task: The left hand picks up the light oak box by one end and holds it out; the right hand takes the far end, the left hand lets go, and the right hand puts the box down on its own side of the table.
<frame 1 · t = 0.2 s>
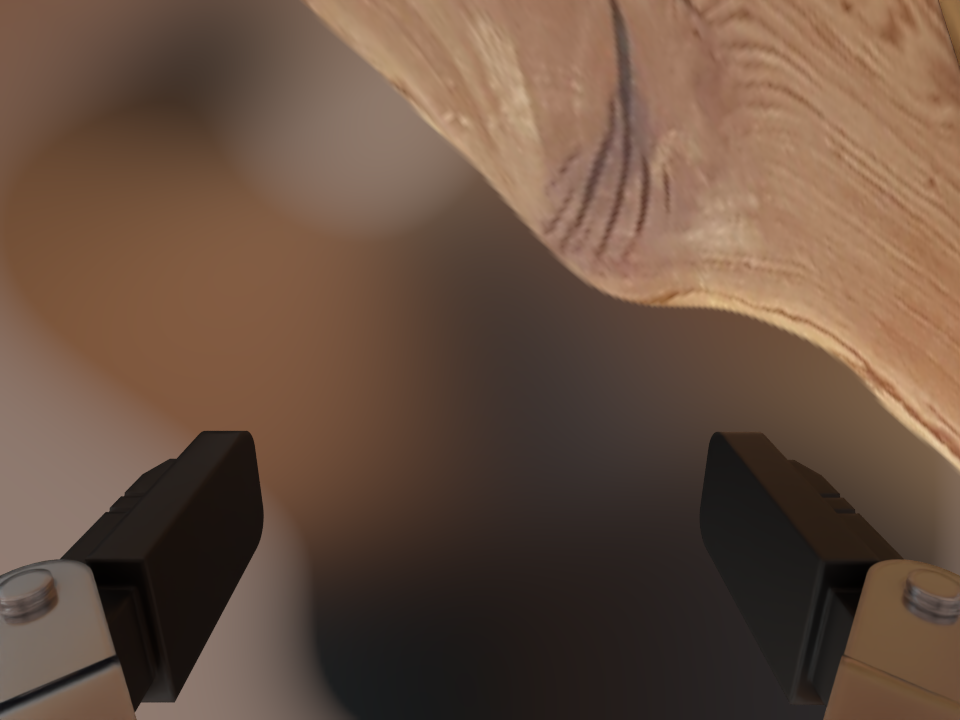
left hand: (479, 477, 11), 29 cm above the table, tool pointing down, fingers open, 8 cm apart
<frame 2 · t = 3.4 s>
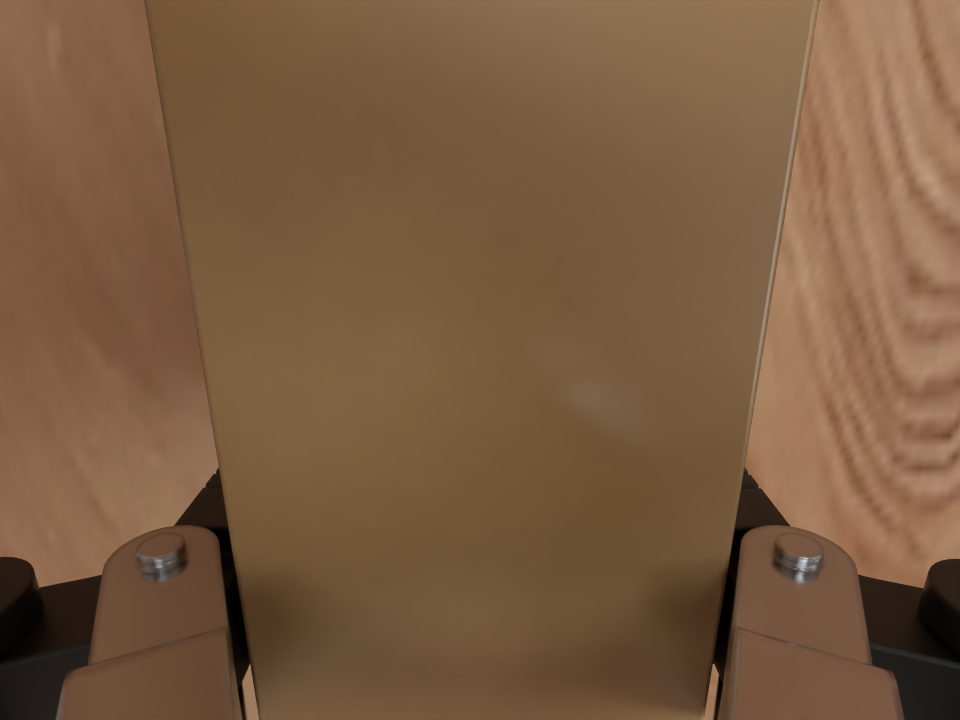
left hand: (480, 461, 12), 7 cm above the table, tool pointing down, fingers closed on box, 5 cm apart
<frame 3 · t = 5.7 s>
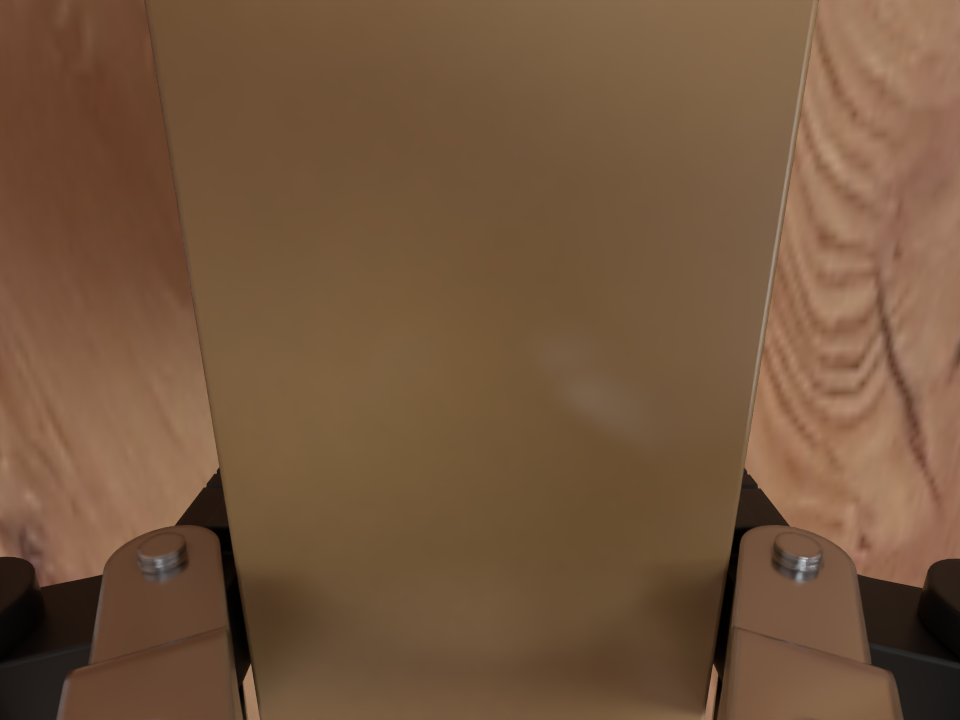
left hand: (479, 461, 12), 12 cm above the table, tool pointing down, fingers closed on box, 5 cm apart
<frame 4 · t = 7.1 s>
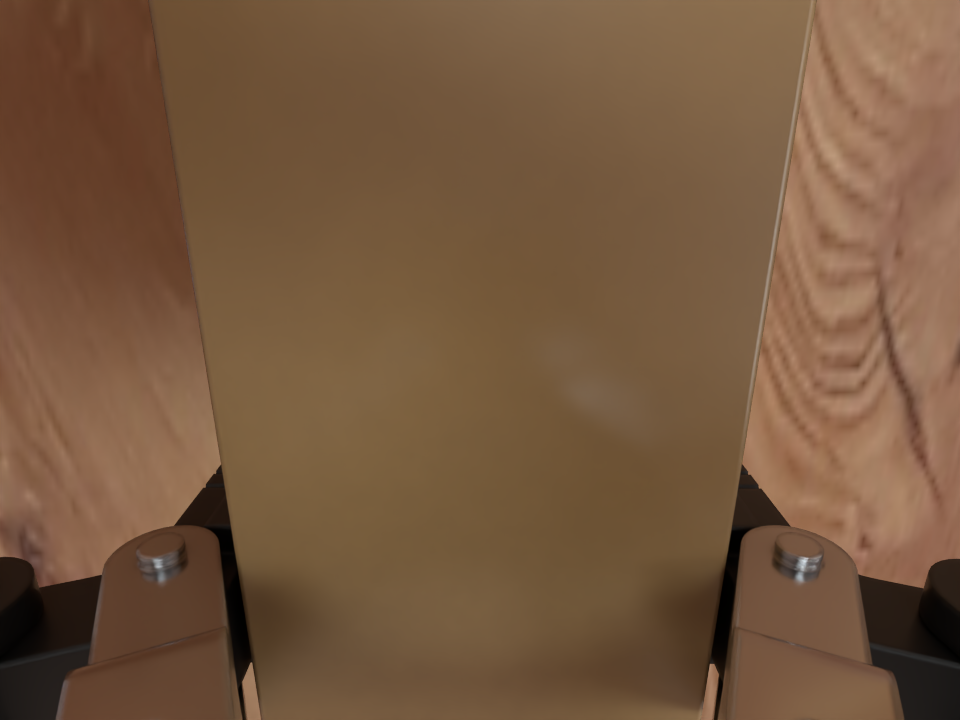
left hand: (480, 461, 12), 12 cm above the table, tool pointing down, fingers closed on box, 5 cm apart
when the left hand's fingers open (12 cm above the table, at t = 8.2 s): box moves 2 cm, held by the right hand.
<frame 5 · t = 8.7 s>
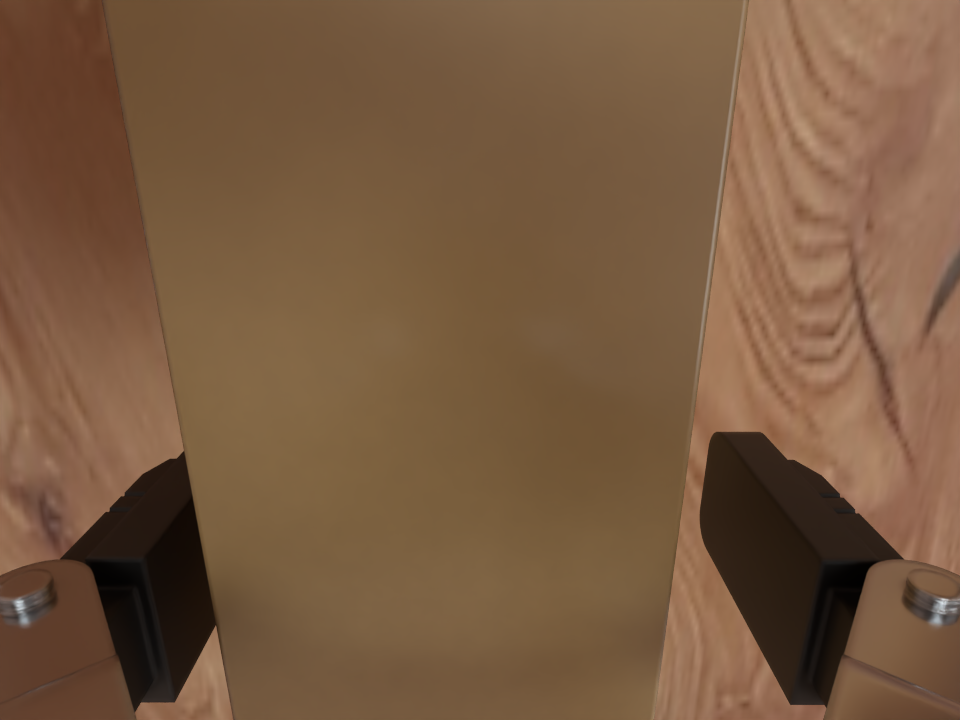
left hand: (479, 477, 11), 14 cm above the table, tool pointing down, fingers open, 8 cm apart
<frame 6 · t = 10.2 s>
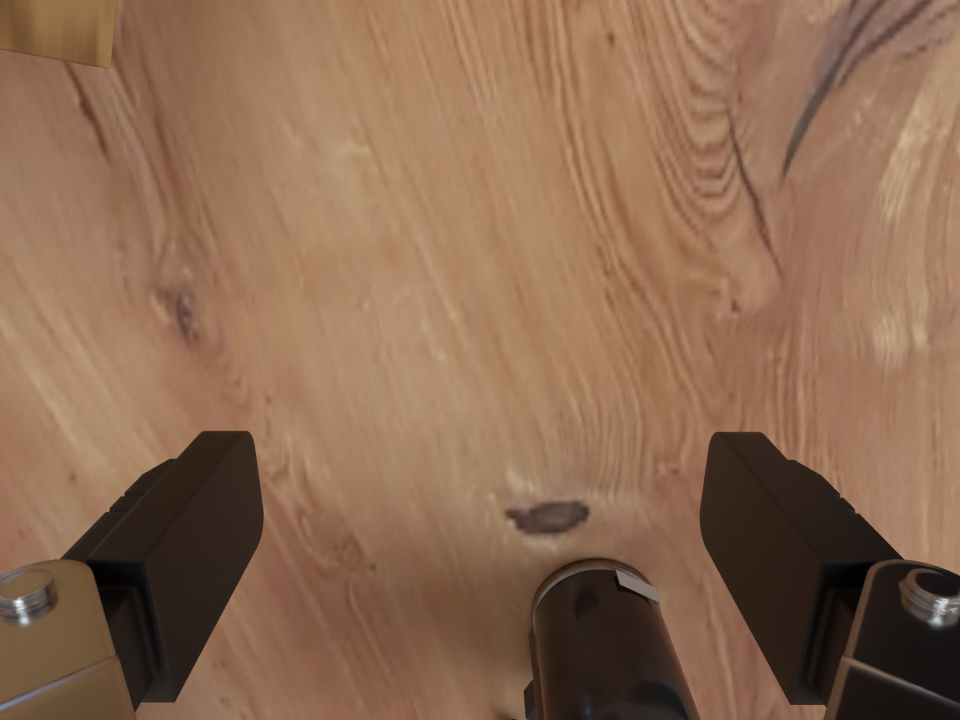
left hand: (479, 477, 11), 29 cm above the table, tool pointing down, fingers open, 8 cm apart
when the right hand's fingers open (7 cm above the table, at t = 13.8 s): box stays where it is, on the table.
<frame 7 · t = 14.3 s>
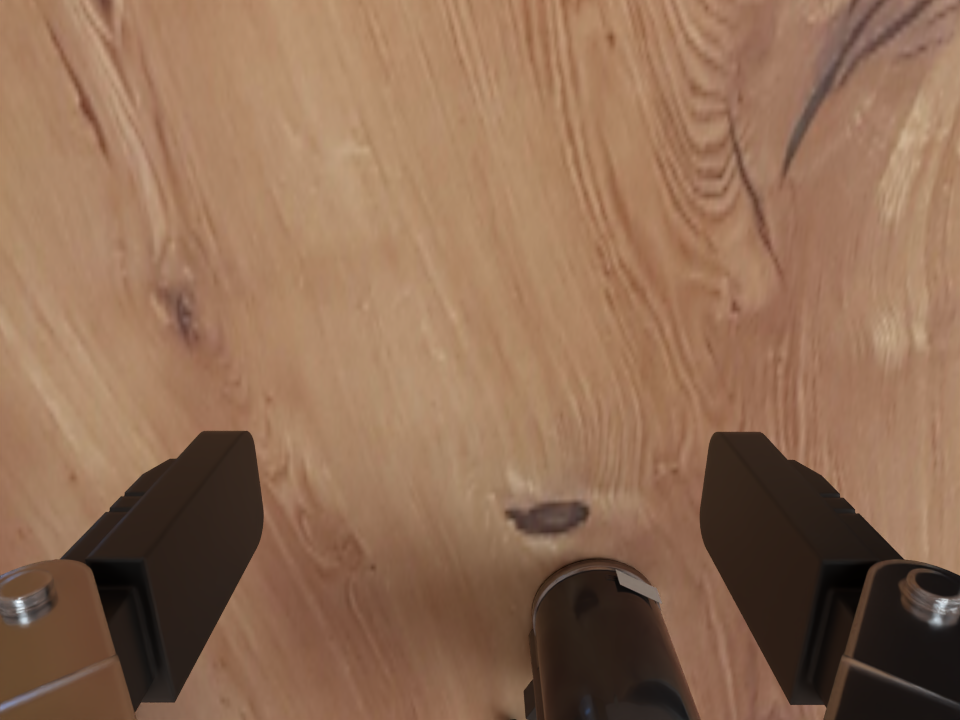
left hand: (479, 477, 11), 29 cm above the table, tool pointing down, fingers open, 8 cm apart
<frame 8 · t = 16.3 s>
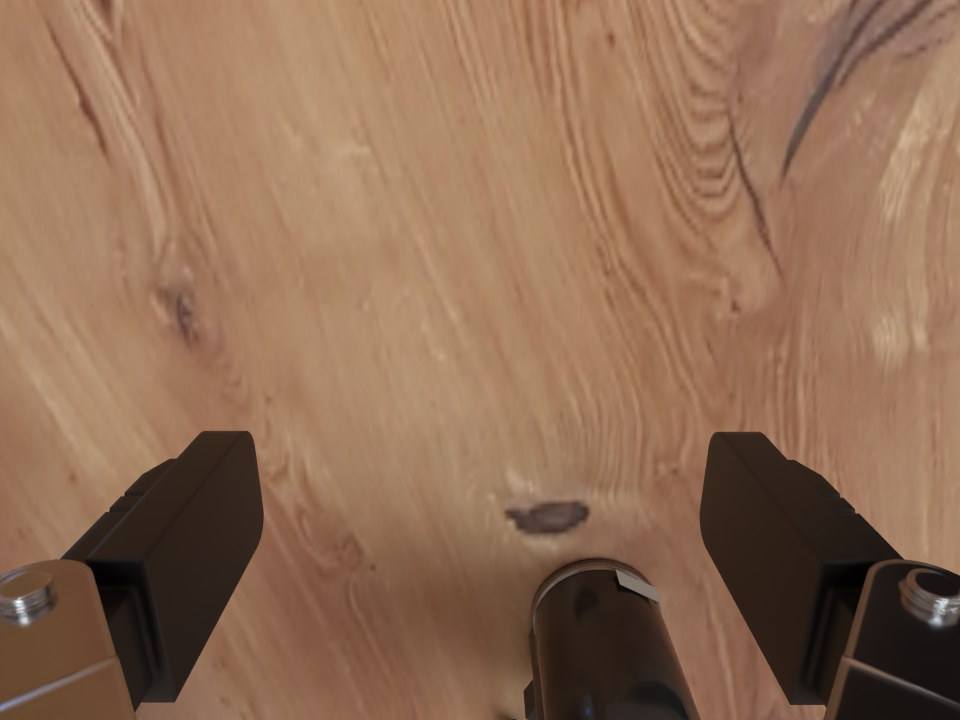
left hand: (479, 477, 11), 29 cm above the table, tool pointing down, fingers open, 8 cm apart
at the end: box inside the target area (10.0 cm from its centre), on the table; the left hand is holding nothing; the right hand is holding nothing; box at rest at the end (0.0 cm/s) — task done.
